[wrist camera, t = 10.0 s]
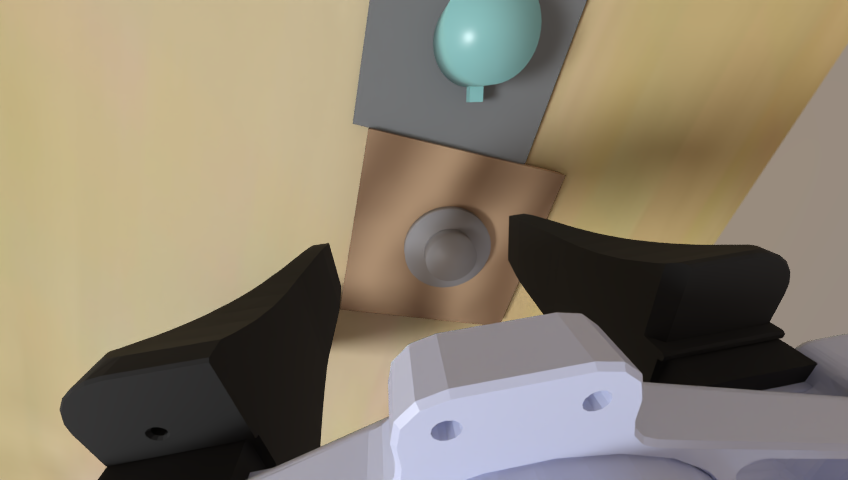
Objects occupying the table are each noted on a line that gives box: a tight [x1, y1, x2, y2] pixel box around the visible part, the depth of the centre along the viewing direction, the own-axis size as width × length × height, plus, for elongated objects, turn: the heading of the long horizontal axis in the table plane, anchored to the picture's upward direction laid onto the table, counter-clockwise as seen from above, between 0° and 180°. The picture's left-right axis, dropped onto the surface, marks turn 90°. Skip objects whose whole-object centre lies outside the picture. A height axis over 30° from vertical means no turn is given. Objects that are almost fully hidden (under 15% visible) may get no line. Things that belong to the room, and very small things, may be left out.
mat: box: [353, 0, 587, 165], centre depth 18 cm, size 12×12×1 cm
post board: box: [340, 128, 566, 325], centre depth 23 cm, size 14×14×3 cm
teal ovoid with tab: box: [433, 0, 542, 102], centre depth 16 cm, size 6×5×4 cm
